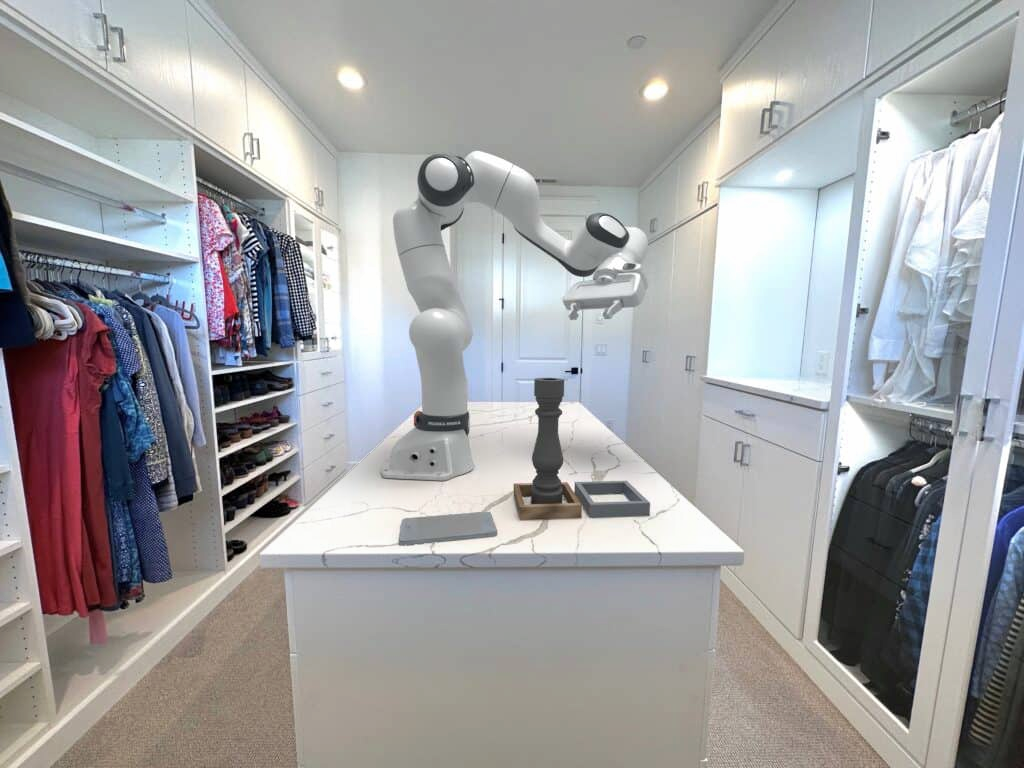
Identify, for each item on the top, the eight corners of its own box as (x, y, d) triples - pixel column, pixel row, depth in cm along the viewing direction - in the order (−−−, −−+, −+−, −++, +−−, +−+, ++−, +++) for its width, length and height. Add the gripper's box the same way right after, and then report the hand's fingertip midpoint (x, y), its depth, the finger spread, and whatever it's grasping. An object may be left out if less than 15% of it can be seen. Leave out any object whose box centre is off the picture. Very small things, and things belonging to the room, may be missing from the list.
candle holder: (561, 513, 74) (564, 381, 71) (528, 510, 75) (530, 380, 72) (563, 500, 80) (566, 378, 77) (532, 497, 82) (535, 377, 78)
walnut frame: (519, 520, 72) (519, 507, 71) (513, 495, 83) (513, 483, 82) (581, 518, 73) (581, 505, 72) (566, 493, 84) (567, 482, 84)
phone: (498, 539, 66) (498, 532, 66) (398, 549, 62) (398, 541, 62) (490, 517, 74) (490, 510, 74) (401, 525, 70) (401, 518, 70)
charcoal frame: (589, 517, 73) (590, 504, 72) (574, 493, 84) (574, 481, 84) (649, 515, 74) (650, 502, 74) (626, 491, 85) (626, 480, 85)
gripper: (572, 272, 103) (547, 309, 97) (647, 263, 88) (623, 305, 83) (581, 291, 106) (558, 327, 101) (655, 285, 92) (632, 327, 86)
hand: (588, 317), depth 92 cm, fingers open, 8 cm apart
